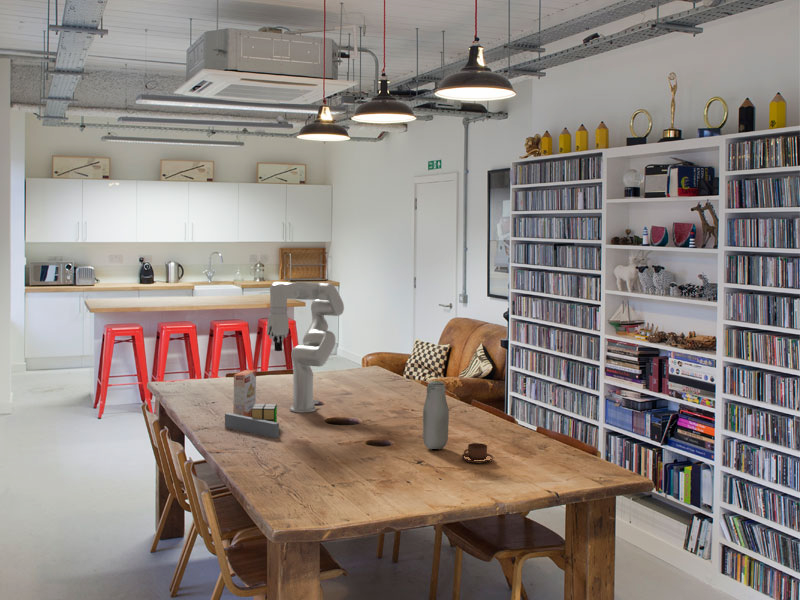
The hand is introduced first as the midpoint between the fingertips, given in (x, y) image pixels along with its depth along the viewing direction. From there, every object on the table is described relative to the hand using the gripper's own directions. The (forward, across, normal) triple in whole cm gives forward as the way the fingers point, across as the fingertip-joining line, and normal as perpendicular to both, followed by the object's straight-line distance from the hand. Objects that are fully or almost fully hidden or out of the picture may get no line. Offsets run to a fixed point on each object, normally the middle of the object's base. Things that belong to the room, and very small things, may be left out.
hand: (278, 350), depth 377 cm
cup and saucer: (+32, +1, +106) cm, 110 cm away
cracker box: (+32, +5, -16) cm, 36 cm away
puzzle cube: (+32, +16, +7) cm, 37 cm away
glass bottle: (+32, -2, +84) cm, 90 cm away
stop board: (+32, +24, +7) cm, 40 cm away
